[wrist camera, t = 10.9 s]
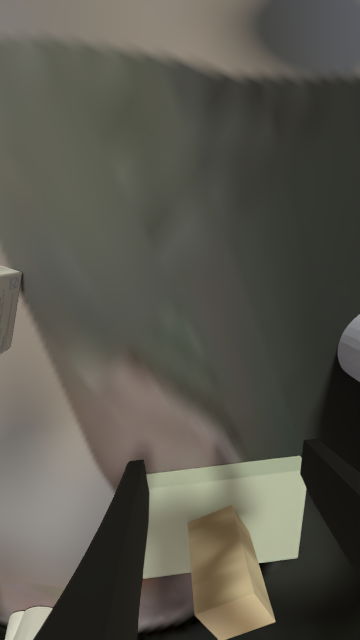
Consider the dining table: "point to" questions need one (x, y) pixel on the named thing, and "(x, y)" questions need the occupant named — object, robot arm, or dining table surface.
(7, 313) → the light bulb box
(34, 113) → the dining table surface
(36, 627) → the figurine
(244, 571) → the maple block
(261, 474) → the green tile
